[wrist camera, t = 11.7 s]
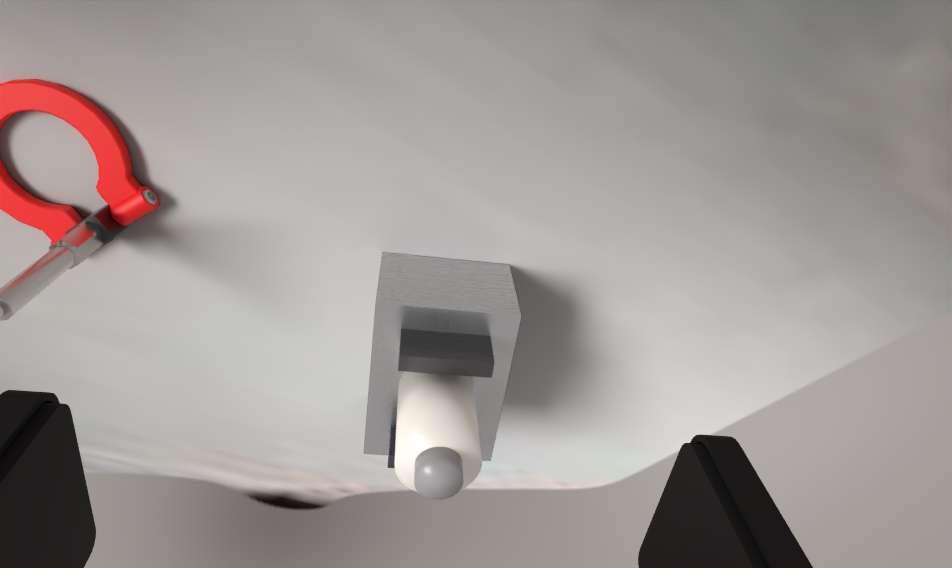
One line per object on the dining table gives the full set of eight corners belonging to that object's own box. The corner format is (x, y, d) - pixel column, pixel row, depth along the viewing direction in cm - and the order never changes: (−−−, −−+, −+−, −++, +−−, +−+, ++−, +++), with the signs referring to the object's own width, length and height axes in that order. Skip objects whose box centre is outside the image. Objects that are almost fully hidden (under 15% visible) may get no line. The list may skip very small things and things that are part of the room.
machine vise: (382, 252, 40) (372, 329, 32) (509, 264, 41) (527, 341, 33) (368, 417, 46) (357, 513, 39) (478, 424, 47) (488, 518, 40)
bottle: (401, 355, 36) (397, 446, 30) (478, 360, 37) (490, 451, 30) (395, 415, 38) (390, 512, 32) (468, 419, 39) (477, 515, 33)
